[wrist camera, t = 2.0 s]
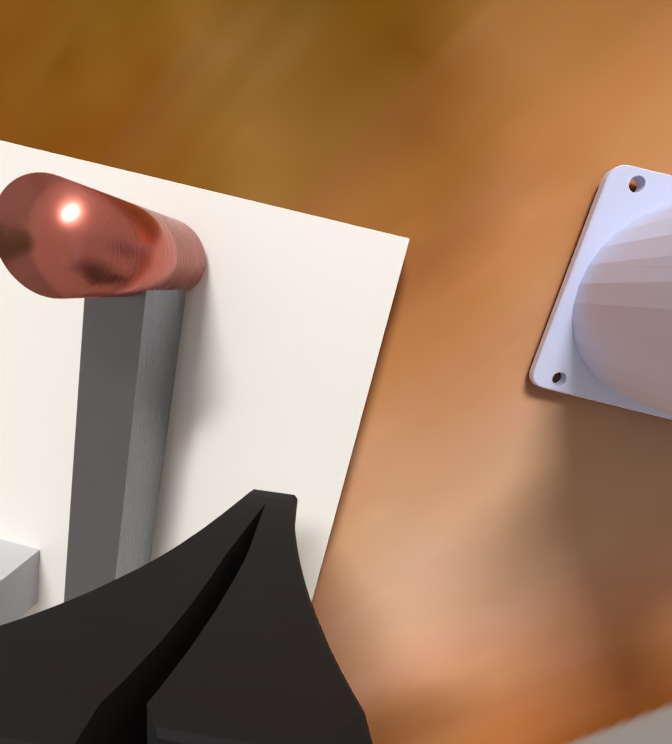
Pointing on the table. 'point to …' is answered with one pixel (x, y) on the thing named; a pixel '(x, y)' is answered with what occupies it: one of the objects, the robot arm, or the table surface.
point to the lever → (108, 352)
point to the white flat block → (200, 375)
